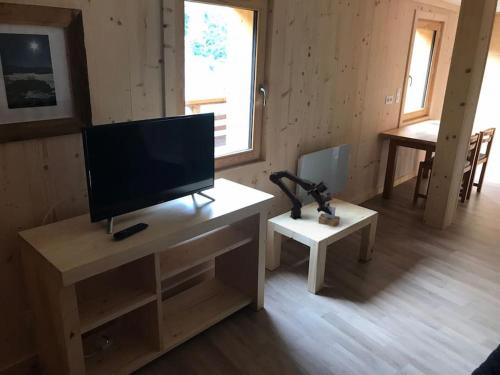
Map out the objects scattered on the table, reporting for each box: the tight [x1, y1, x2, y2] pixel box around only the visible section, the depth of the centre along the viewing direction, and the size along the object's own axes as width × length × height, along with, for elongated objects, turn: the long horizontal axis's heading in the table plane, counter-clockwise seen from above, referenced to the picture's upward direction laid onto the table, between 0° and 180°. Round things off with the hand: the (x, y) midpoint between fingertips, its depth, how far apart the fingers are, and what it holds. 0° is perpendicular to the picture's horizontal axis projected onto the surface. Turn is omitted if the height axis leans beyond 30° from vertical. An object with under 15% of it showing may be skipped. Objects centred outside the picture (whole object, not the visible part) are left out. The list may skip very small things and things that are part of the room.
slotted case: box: [318, 212, 341, 228], centre depth 287 cm, size 13×8×4 cm, turn 67°
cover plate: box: [323, 206, 336, 219], centre depth 285 cm, size 7×2×10 cm, turn 67°
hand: (331, 214), depth 285 cm, fingers closed on cover plate, 2 cm apart
